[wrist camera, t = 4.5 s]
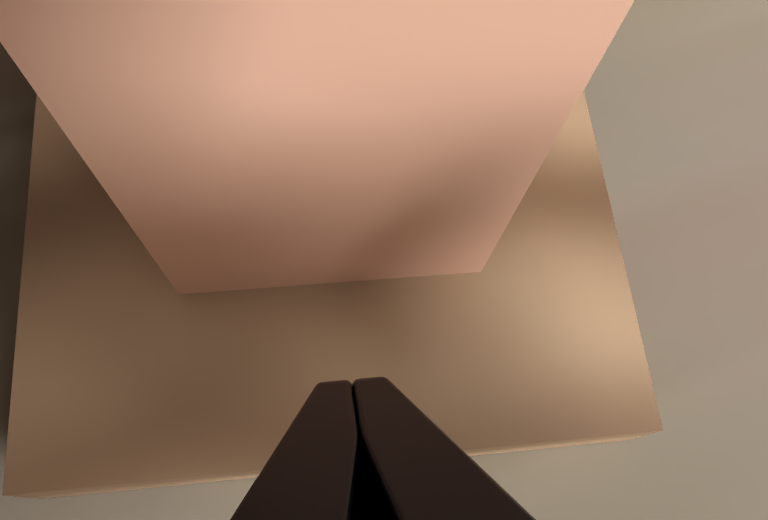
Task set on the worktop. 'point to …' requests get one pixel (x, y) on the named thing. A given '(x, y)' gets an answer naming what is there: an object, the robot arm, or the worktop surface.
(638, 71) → the worktop surface
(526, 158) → the terracotta block
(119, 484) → the tan wooden slab
